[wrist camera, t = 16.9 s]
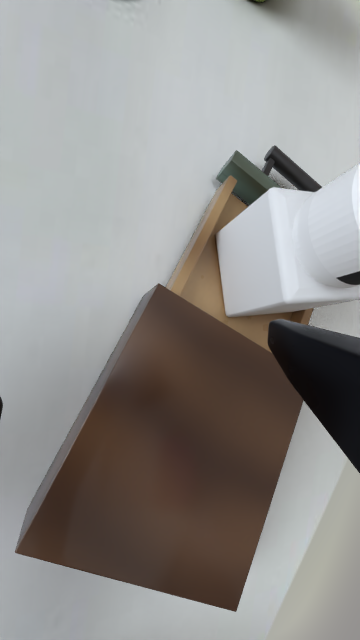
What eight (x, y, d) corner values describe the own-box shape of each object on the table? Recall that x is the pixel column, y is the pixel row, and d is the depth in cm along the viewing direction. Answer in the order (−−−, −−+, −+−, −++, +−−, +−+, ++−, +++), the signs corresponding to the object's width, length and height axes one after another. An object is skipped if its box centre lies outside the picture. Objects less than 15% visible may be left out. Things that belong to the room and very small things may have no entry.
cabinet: (143, 295, 22) (158, 282, 18) (275, 373, 26) (311, 376, 22) (26, 509, 18) (14, 553, 14) (206, 565, 21) (236, 612, 17)
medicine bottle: (281, 236, 25) (442, 145, 14) (292, 312, 25) (469, 278, 14) (213, 233, 23) (347, 119, 12) (224, 318, 22) (375, 283, 11)
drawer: (237, 137, 26) (254, 115, 24) (331, 217, 30) (354, 205, 27) (144, 313, 21) (153, 308, 19) (271, 385, 24) (292, 389, 22)
